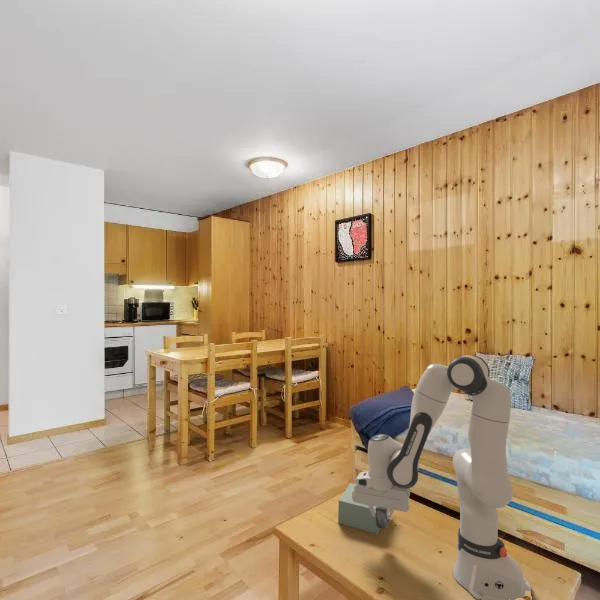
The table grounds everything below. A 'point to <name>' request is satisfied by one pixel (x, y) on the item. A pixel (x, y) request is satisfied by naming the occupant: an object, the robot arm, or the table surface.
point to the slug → (381, 517)
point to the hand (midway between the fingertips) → (381, 517)
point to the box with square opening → (356, 512)
